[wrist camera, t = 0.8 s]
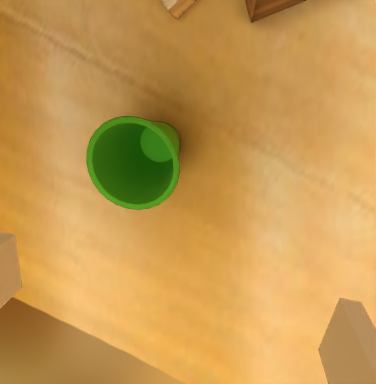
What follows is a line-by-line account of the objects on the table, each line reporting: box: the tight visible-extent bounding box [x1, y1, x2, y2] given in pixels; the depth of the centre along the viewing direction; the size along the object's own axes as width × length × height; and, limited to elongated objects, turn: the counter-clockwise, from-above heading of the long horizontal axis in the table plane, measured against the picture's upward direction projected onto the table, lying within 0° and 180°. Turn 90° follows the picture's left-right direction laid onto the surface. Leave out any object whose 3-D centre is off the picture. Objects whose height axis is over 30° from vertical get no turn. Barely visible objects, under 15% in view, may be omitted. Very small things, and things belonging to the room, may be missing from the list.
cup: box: [86, 116, 180, 210], centre depth 32 cm, size 9×9×11 cm
